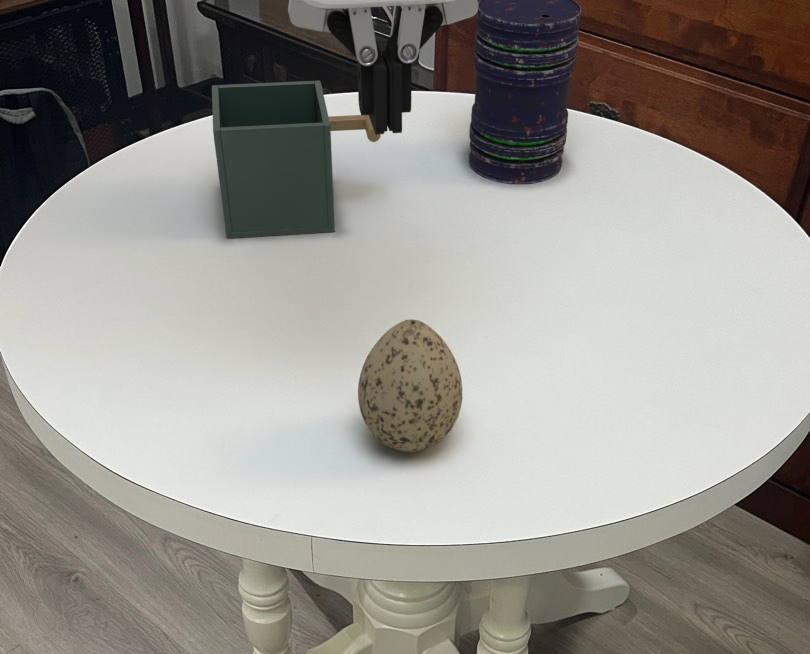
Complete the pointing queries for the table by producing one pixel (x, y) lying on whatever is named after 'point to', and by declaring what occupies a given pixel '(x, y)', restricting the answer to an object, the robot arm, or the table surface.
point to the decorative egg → (410, 388)
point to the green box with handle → (277, 157)
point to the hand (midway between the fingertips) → (385, 124)
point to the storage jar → (522, 88)
